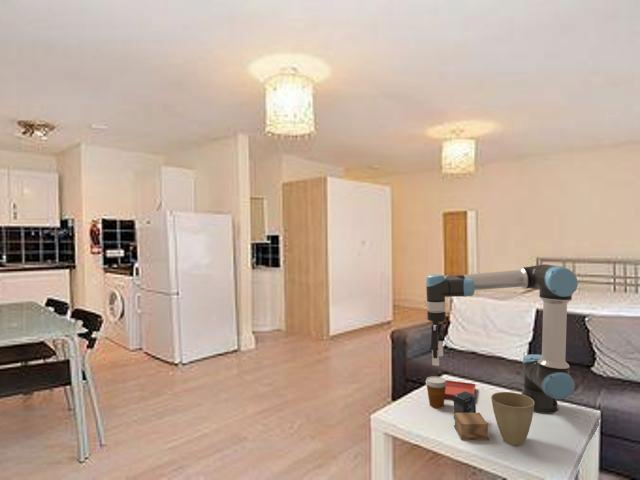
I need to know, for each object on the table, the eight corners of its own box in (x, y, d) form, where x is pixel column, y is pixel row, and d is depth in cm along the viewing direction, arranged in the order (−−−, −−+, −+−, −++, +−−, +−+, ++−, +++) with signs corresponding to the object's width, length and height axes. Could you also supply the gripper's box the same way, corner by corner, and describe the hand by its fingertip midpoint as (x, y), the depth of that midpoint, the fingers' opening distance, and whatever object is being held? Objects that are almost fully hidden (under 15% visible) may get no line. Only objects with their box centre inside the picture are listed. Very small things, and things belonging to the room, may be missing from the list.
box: (465, 424, 167) (464, 399, 167) (453, 419, 172) (453, 395, 171) (476, 419, 171) (475, 394, 171) (465, 414, 176) (464, 390, 176)
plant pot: (545, 446, 148) (543, 403, 148) (512, 454, 144) (510, 410, 144) (514, 428, 162) (513, 389, 162) (483, 434, 158) (482, 394, 158)
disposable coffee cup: (424, 408, 183) (424, 382, 183) (427, 400, 192) (426, 375, 192) (446, 411, 180) (445, 384, 180) (448, 402, 189) (447, 377, 189)
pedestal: (480, 426, 164) (480, 412, 164) (489, 440, 154) (488, 424, 154) (454, 426, 165) (453, 412, 165) (461, 440, 155) (460, 424, 155)
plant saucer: (475, 389, 204) (475, 383, 204) (473, 404, 187) (473, 397, 187) (439, 385, 211) (438, 379, 211) (434, 398, 195) (433, 391, 195)
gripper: (431, 305, 184) (433, 351, 185) (422, 316, 161) (424, 368, 162) (448, 306, 181) (450, 352, 182) (441, 317, 158) (443, 370, 159)
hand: (438, 360), depth 172 cm, fingers open, 13 cm apart
